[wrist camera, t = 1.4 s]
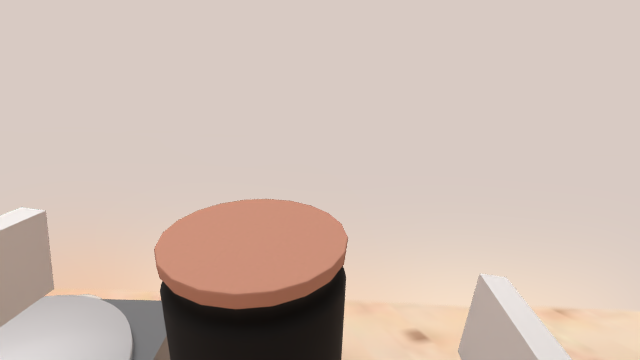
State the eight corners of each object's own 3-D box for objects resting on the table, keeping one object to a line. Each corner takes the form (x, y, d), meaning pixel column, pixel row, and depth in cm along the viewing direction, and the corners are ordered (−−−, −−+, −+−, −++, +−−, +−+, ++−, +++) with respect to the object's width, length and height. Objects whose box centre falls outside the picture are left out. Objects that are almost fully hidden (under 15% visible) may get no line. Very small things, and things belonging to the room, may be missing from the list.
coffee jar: (288, 365, 33) (287, 187, 27) (366, 467, 25) (389, 247, 19) (170, 431, 27) (134, 222, 21) (222, 592, 19) (189, 329, 13)
